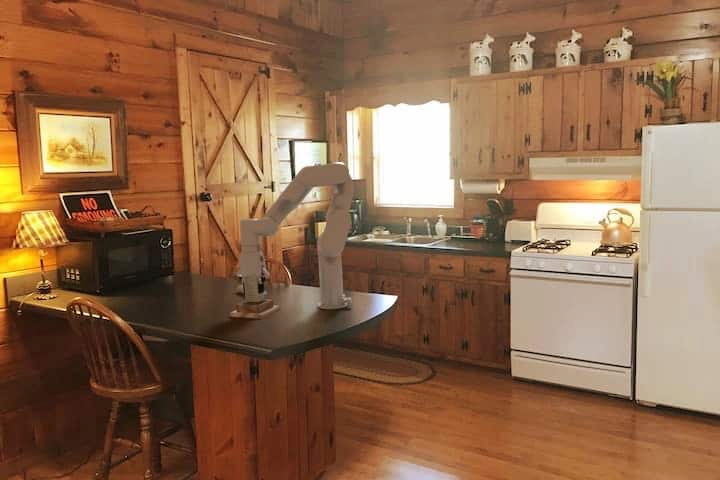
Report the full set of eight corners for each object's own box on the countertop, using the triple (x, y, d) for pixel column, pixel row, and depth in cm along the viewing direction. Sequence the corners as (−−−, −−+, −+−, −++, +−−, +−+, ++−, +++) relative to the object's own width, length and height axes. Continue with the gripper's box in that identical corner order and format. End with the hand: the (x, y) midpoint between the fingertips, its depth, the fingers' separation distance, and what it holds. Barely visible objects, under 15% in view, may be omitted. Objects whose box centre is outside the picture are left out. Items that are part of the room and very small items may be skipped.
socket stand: (280, 309, 251) (279, 298, 251) (261, 318, 238) (261, 307, 237) (249, 307, 257) (249, 297, 257) (229, 316, 243) (228, 305, 243)
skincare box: (264, 300, 247) (262, 270, 246) (258, 302, 243) (256, 272, 242) (251, 299, 250) (249, 270, 248) (244, 301, 246) (242, 272, 245)
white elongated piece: (244, 283, 292) (267, 283, 272) (246, 297, 292) (269, 298, 272) (234, 285, 289) (257, 285, 269) (236, 298, 289) (259, 300, 269)
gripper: (274, 248, 244) (277, 291, 246) (238, 247, 251) (241, 289, 253) (264, 250, 237) (267, 295, 240) (227, 250, 244) (230, 293, 246)
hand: (253, 292), depth 246 cm, fingers closed on skincare box, 6 cm apart
